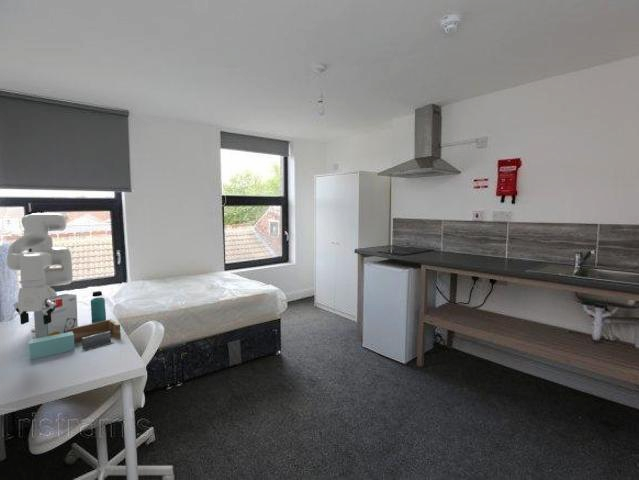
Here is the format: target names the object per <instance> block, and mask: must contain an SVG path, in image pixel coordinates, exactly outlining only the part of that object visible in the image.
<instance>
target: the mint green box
mask: <svg viewBox="0 0 639 480" xmlns="http://www.w3.org/2000/svg"><path fill="white" fill-rule="evenodd" d="M73 350H76V349H75V343H74V334H73V332H72V331H71V332H66V333H61V334H56V335H51V336H46V337H41V338H36V339H35V338H33V339H28V351H29V352H28V354H29V360H34V359H38V358H43V357H48V356H53V355H56V354H61V353H65V352H69V351H73Z"/></svg>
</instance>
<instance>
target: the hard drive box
mask: <svg viewBox="0 0 639 480" xmlns="http://www.w3.org/2000/svg"><path fill="white" fill-rule="evenodd" d="M77 298H78V296H77V294H72V293H71V294H70V293H63V294H59V295H58V294H57V296H54V297H50V301H52V302H54V303H56V304H57V305H56V307H55V310H54V311H53V313H51V323H48V324H44V321H43V315H45V314H44V313H43V312H42V311H33V318H34V319H33V320H34V326H35V331H34V336H35V338H34V339H36V338H41V337H46V336H51V335H56V334H61V333H66V332H67V329H70V328H74V327H78V326H79V324H78V322H79V321H78V302H77V301H78V299H77ZM49 308H50V307H49ZM46 311H47V310H46Z"/></svg>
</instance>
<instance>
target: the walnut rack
mask: <svg viewBox="0 0 639 480" xmlns="http://www.w3.org/2000/svg"><path fill="white" fill-rule="evenodd" d="M71 331H72V332H73V334H74V344H76V343H79V342H82V338H84V337H88V336H92V335H96V334H100V333H104V332H108V331H110V336H111V337H113V338H114V339H116V340H118V341H119V340H120V339H121V340H122V337H121V335H122V334H121V324H119V323H118V322H116V321H114V320H113V319H106V320H105V321H101V322H96V323H92V322H91V323H88V324H84V325H83V324H82V325H80V326H79V325H78V327H74V328H70V329H67V332H71Z"/></svg>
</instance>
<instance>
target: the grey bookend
mask: <svg viewBox="0 0 639 480" xmlns="http://www.w3.org/2000/svg"><path fill="white" fill-rule="evenodd" d="M111 337H112V336H111V335H110V331H108V332H104V333H100V334H96V335H92V336H88V337H84V338H82V341H81V343H82V348H83V349H84V350H85V351H86V352H89V351H91V350H93V349H94V350H95V349H97V348H102V347H105V346H108V345H112V344H115V342H114V341H113V340H111Z"/></svg>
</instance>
